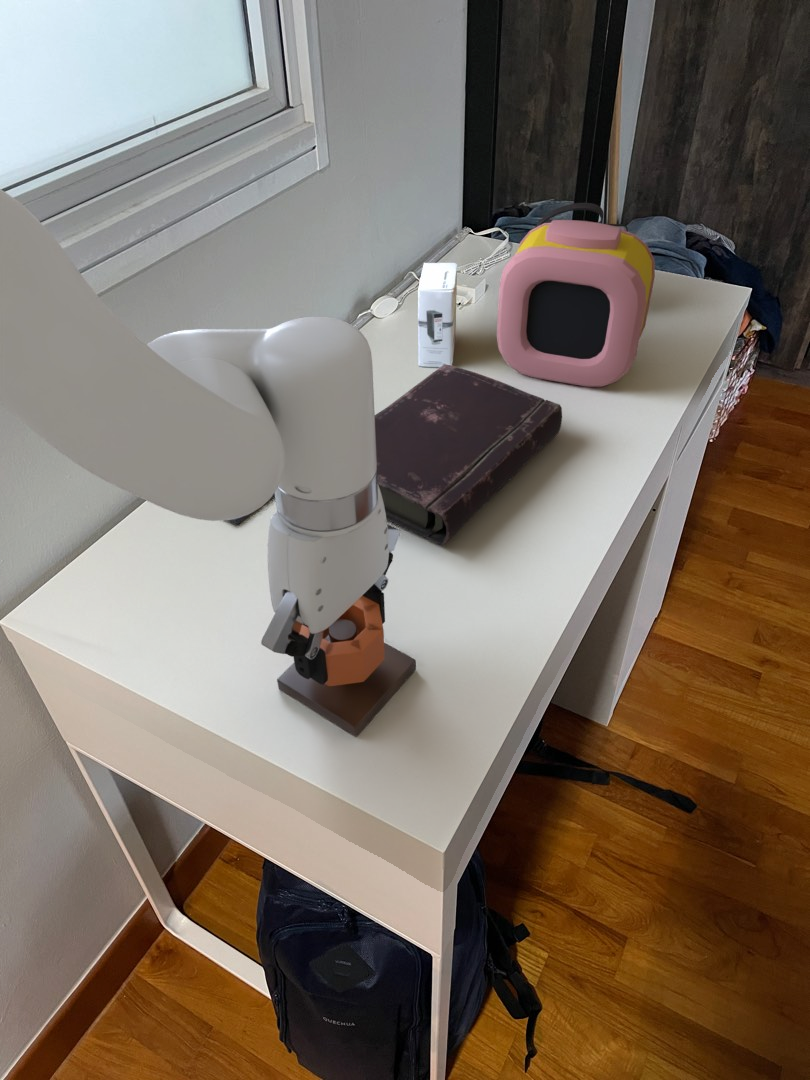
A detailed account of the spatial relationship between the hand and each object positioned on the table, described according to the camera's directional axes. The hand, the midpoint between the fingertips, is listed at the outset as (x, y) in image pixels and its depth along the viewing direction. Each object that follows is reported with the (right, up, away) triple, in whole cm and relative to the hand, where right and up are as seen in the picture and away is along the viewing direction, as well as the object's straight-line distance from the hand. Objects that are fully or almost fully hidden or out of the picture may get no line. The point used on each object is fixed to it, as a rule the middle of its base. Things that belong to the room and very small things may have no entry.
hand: (341, 644), depth 72 cm
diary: (+10, +18, +27) cm, 34 cm away
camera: (+32, +46, +56) cm, 79 cm away
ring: (0, -1, +1) cm, 1 cm away
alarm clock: (+28, +33, +43) cm, 61 cm away
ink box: (+10, +36, +46) cm, 59 cm away
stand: (0, -4, +4) cm, 5 cm away
